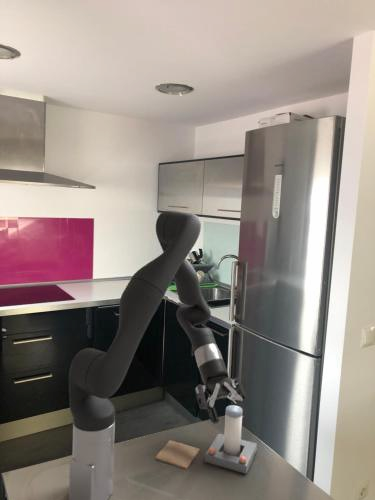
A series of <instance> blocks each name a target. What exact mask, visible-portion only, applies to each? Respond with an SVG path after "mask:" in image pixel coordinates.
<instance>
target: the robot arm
mask: <svg viewBox="0 0 375 500" xmlns="http://www.w3.org/2000/svg"><path fill="white" fill-rule="evenodd" d="M201 229H202V222H201V220H200V217H199V216H198V215H196V214H193V213H191V212H190V213H189V212H184V211H176V210H164V211H162V212H161V213H160V214H159V215H158V217H157V219H156V222H155V234H156V238H157V240H158V243H159V245H160V247H161V249H162V253H161V254H160V255H158V256H157V257H156V258H154V259H152V260H151V261H149V262H147V263H146V264H145V265H143V266H142V267H141V268H139V269H138V270H136V272H134V273H133V275H132V277H131V278H130V280H129V282H128V283H127V284H126V286H125V288H124V290H123V291H122V294H121V297H120V300H119V309H118V312H119V313H118V319H119V321H118V328H117V332H116V334H115V337H114V339H113V341H112V343H111V345H110V346H109V348H108V350H107V352H106V351H102V350H99V349H96V348H93V347H87V348H83V349H81V350H80V351H78V352H77V353H76V355H75V356H74V358H73V359H72V361H71V364H70V367H69V371H68V395H69V396H68V397H69V399H68V400H69V401H68V402H69V411H70V413H71V415H72V453H71V454H72V455H71V456H72V458H70V460H69V477H68V480H69V483H68V484H69V485H68V487H69V488H68V500H109V499H110V498H111V497H112V495H113V491H114V466H115V465H114V461H115V431H116V430H115V429H116V424H115V423H116V409H115V406H114V404H113V403H112V402H111V401H110V400H109V399H108V398H111V397H113V395H114V394H115V393H116V392H117V391H118V390H119V388H120V387H121V385H122V384H123V381H124V380H125V378H126V375H127V373H128V370H129V368H130V366H131V363H132V362H133V361H132V360H133V359H134V355H135V354H136V352H137V349H138V347H139V345H140V342H141V340H142V339H143V337H144V335H145V332H146V330H147V328H148V326H149V324H150V322H151V320H152V319H153V317H154V315H155V313H156V312H157V311H158V308H159V306H160V304H161V302H162V300H164V297H165V295H166V294H167V293H166V292H167V290H168V288H169V287H170V284H171V283H172V281H173V280H174V284H175V289H176V292H177V296H178V300H179V301H180V303H181V304H183V305H181V306H179V307H178V308H177V310H176V312H175V313H176V314H175V315H176V319H177V321H178V323H179V324H180V326H181V327H182V329H183V330H184V332H185V333H186V335H187V337H188V339H189V341H190V343H191V345H192V349H193V352H194V356H195V357H194V358H195V361H196V364H197V367H198V370H199V373H200V377H201V380H202V383H203V385H202V384H201V383H199V384H198V385H197V386H196V387H195V388H194V391H195V395H196V400H197V403H198V407H199V409H200V410H206V411H207V413H208V416H209V419H210V422H211V423H213V425H216V424H218V423H219V422H220V419H219V416H218V413H217V410H216V407H215V406H214V405H215V402H216V400H220V399H226V398H227V399H229V400H230V401H233V402H234V404H235V406H239V407H241V408H242V410H243V412H242V418H245V416H246V414H247V410H246V408H245V405H244V400H245V399H247V397H248V394H247V392H246V390H245V387H244V386H243V383H242V381H241V378H240V377H236V378H234V379H232V380H231V379H230V377H229V372H228V370H227V367H226V363H225V361H224V359H223V356H222V353H221V351H220V349H219V347H218V345H217V342H216V339H215V337H214V336H215V335H214V333H213V331H212V330H211V329H210V328H208V327H195V326H199V325H203V324H205V323H207V322H209V320H210V319H211V317H212V312H211V308H210V307H209V305H208V304H207V302H206V300H205V299H204V296H203V294H202V291H201V284H200V279H199V276H198V274H197V273H198V272H197V271H196V270H195V268H194V267H193V265H192V264H191V263H190V261H189V260H188V259H187V256H188V255H189V254H190V252H191V250H193V247H194V246H195V244H196V243H197V241H198V238H199V236H200V233H201ZM205 392H207V394H208V398H207V399H206V396H205V395H206V394H205Z"/></svg>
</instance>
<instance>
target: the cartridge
mask: <svg viewBox="0 0 375 500" xmlns="http://www.w3.org/2000/svg"><path fill="white" fill-rule="evenodd" d="M242 412H243V410H242V408H241V407H239V406H236V404H235V405H234V404H232V405H230V404H229V405H228V406H226V408H225V418H224V420H225V421H224V433H223V435H224V449H223V453H226V454H229V455H233V456H236V457H240V444H241V439H242V425H243V417H242Z"/></svg>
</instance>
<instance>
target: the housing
mask: <svg viewBox="0 0 375 500" xmlns="http://www.w3.org/2000/svg"><path fill="white" fill-rule="evenodd" d="M257 446H258V443H256V442H252V441H248V440H245V439H242V438H241V444H240V457H236V456H233V455H229V454H226V453H223V449H224V433H218V434H217V436H216V437H215V438H214V440H213V442H212V443H211V444H210V446H209V448H207V449H208V450H207V451H206V452H205V454H204V462H205V463H208V464H212V465H214V466H217V467H218V466H219V467H222V468H225V469H228V470H232V471H236V472H239V473H242V474H245V475H246V474H247V472H248V471H249V468H250V467H251V464H252V462H253V459H254V457H255V456H256V455H255V454H256V452H257Z"/></svg>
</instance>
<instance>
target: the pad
mask: <svg viewBox="0 0 375 500" xmlns="http://www.w3.org/2000/svg"><path fill="white" fill-rule="evenodd" d="M200 450H201V449H200V448H198V447H195V446H192V445H189V444H185V443H181V442H177V441H175V440H171V439H169V440H168V441H167V443H166V444H165V445H164V447H162V448H161V450H160V451H158V453H157V455H156V456H155V457H154V460H156V461H159V462H163V463H166V464H169V465H172V466H175V467H179V468H181V469H185V470H188V468H189V467H190V465H191V464H192V463H193V462H194V459H195V458H196V456H197V455H198V454H199V452H200Z"/></svg>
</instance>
